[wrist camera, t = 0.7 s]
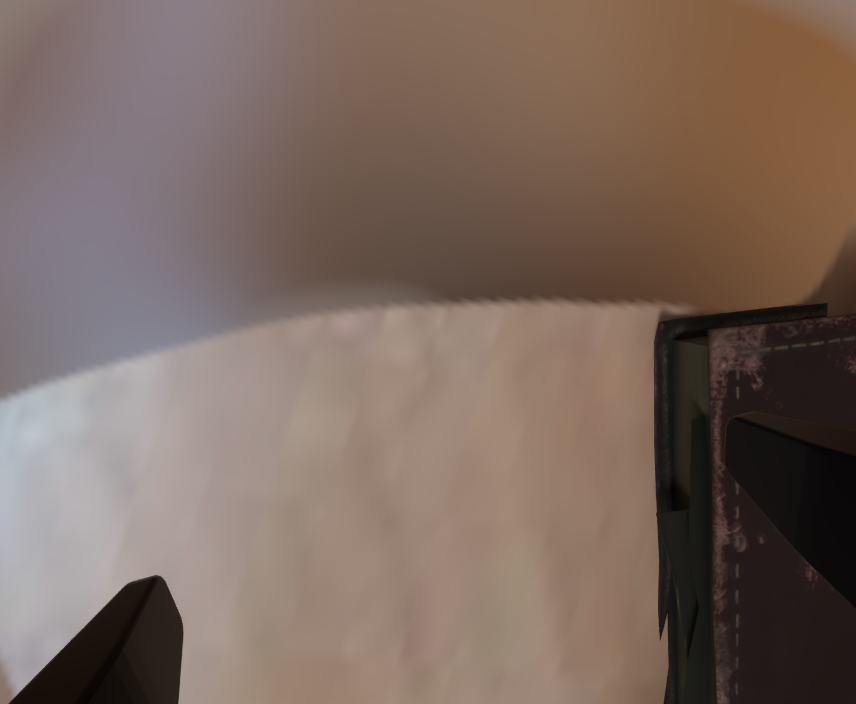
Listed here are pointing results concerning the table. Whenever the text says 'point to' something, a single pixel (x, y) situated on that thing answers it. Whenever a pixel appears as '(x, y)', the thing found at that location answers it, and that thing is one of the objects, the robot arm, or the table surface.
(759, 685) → the diary
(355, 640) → the table surface
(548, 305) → the table surface
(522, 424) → the table surface
